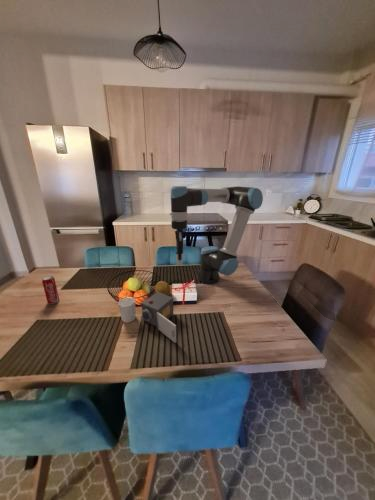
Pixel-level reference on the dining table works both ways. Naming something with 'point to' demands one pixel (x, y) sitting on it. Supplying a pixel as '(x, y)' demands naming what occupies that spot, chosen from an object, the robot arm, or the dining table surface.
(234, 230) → the robot arm
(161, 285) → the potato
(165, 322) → the side door
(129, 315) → the white cup
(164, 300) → the camera body
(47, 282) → the beverage can
